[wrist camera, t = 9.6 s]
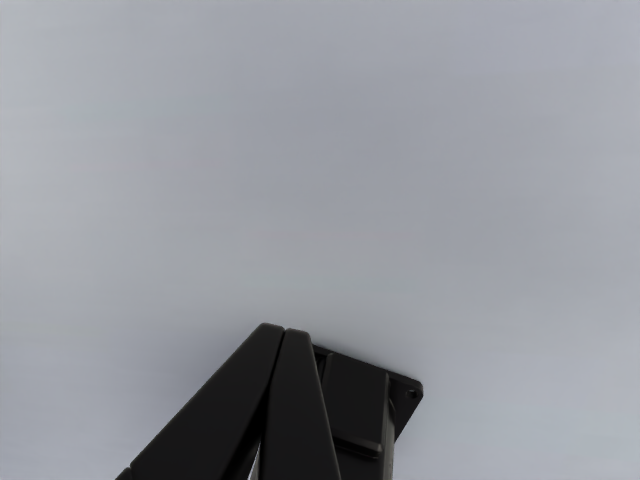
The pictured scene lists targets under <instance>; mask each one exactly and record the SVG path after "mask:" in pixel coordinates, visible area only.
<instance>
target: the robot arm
mask: <svg viewBox="0 0 640 480" xmlns="http://www.w3.org/2000/svg"><path fill="white" fill-rule="evenodd" d="M409 390H414V392H410V391H409ZM422 398H423V385H422V384H421V383H420V382H419V381H417V380H414V379H411V378H408V377H406V376H403V375H400V374H397V373H394V372H391V371H388V370H385V369H382V368H380V367H377V366H374V365H371V364H368V363H365V362H362V361H359V360H356V359H354V358H351V357H348V356H345V355H342V354H339V353H336V352H333V351H330V350H328V349H325V348H322V347H319V346H316V345H313V344H312V343H311V339H310V335H309V334H308V333H307V332H305V331H300V330H296V329H291V328H288V329H286V330H284V328H283V327H282V326H278V325H273V324H269V323H262V324H261V325H259V326H258V327H257V328H256V329H255V330H254V332H253V333H252V334H251V335H250V336H249V337H248V338H247V339H246V340H245V341H244V342H243V343H242V344H241V345H240V347H239V348H238V349H237V350H236V351H235V352H234V353H233V354H232V355H231V356H230V357H229V358H228V359H227V360H226V362H225V363H224V364H223V365H222V366H221V367H220V368H219V369H218V370H217V371H216V372H215V373H214V374H213V375H212V376H211V378H210V379H209V380H208V381H207V382H206V383H205V384H204V385H203V386H202V387H201V388H200V389H199V390H198V391H197V393H196V394H195V395H194V396H193V397H192V398H191V399H190V400H189V401H188V402H187V403H186V404H185V405H184V406H183V408H182V409H181V410H180V411H179V412H178V413H177V414H176V415H175V416H174V417H173V418H172V419H171V420H170V421H169V423H168V424H167V425H166V426H165V427H164V428H163V429H162V430H161V431H160V432H159V433H158V434H157V435H156V436H155V438H154V439H153V440H152V441H151V442H150V443H149V444H148V445H147V446H146V447H145V448H144V449H143V450H142V451H141V452H140V454H139V455H138V456H137V457H136V458H135V459H134V460H133V461H132V462H131V463H130V468H129V467H127V468H125V469H124V470H123V471H122V473H121V474H120V475H119V476H118V477H117V478H116V479H115V480H247V479H248V476H249V474H250V471H251V468H252V466H253V463H254V460H255V457H256V454H257V451H258V448H259V451H258V454H257V458H256V461H255V465H254V468H253V471H252V475H251V478H250V480H392V475H393V455H394V443H395V442H396V440H397V438H398V437H399V435H400V434H401V432H402V430H403V429H404V427H405V425H406V424H407V422H408V421H409V419H410V417H411V416H412V414H413V412H414V411H415V409H416V408H417V406H418V404H419V403H420V401H421V399H422ZM260 441H261V442H260ZM259 444H260V447H259Z"/></svg>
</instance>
